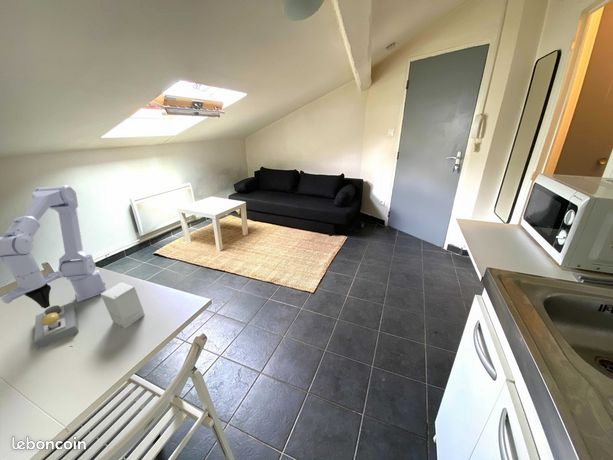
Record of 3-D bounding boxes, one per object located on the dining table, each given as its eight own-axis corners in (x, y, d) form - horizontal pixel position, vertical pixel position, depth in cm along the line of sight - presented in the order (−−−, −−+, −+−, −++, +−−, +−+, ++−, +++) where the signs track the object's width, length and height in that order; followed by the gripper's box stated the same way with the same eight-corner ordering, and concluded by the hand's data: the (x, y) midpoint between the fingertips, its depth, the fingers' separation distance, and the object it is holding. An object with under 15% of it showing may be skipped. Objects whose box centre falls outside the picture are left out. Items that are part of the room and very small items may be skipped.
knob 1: (65, 314, 96) (59, 303, 94) (65, 320, 93) (59, 309, 91) (50, 319, 93) (44, 309, 91) (50, 326, 90) (44, 315, 88)
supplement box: (145, 314, 95) (135, 286, 90) (125, 328, 89) (113, 299, 84) (132, 309, 98) (121, 281, 92) (112, 322, 92) (99, 293, 86)
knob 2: (63, 321, 89) (57, 310, 87) (63, 328, 86) (57, 317, 84) (47, 328, 86) (40, 316, 84) (47, 334, 84) (40, 323, 82)
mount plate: (75, 308, 99) (71, 301, 97) (78, 332, 88) (74, 324, 86) (39, 322, 93) (34, 314, 91) (38, 349, 82) (33, 341, 80)
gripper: (46, 258, 88) (63, 291, 93) (-14, 282, 75) (10, 318, 81) (59, 261, 85) (76, 294, 91) (0, 287, 73) (23, 324, 79)
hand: (45, 306), depth 86 cm, fingers closed
